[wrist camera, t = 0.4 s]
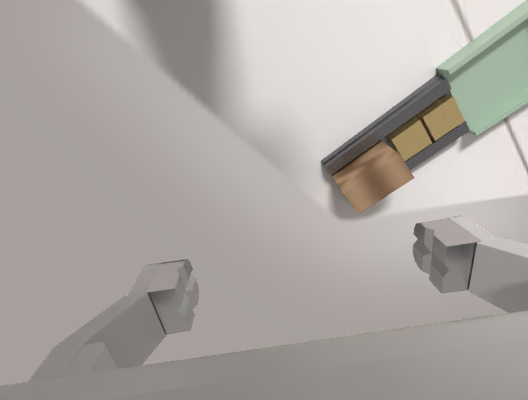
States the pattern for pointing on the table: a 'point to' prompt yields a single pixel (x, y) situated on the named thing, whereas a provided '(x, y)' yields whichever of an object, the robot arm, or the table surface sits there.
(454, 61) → the tray
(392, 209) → the table surface
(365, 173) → the brown wooden block
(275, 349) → the robot arm
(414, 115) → the slot bed
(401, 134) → the brass chip
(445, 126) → the brass chip
